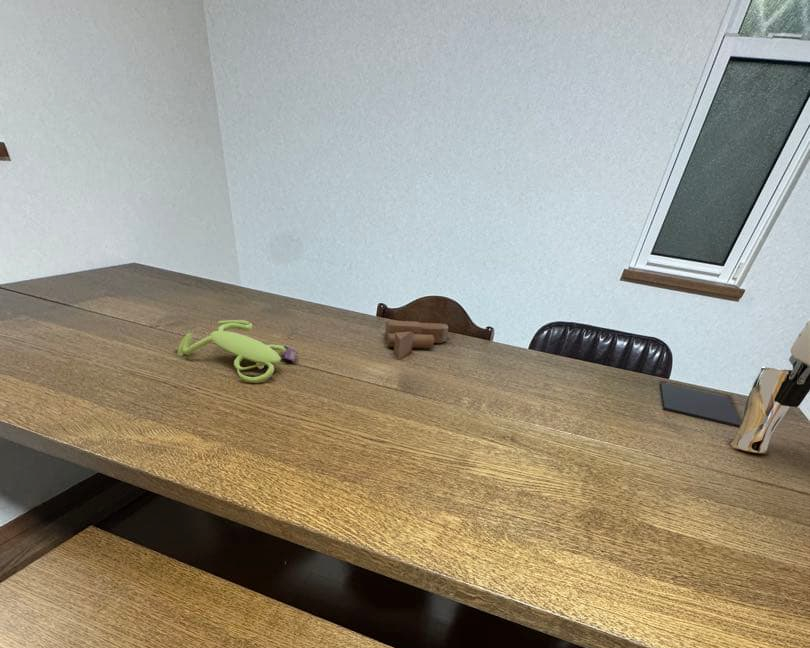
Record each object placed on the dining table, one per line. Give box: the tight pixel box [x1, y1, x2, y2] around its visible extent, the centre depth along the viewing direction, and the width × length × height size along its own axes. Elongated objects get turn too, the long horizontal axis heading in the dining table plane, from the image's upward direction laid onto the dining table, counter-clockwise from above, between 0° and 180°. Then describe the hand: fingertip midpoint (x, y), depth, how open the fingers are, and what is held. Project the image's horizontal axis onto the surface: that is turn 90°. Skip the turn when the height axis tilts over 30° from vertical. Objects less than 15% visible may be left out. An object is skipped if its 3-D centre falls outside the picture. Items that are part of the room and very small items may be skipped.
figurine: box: [177, 319, 298, 384], centre depth 100 cm, size 18×27×6 cm
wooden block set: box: [384, 319, 449, 361], centre depth 118 cm, size 17×6×18 cm
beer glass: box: [730, 366, 793, 455], centre depth 86 cm, size 7×7×15 cm
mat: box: [659, 382, 741, 428], centre depth 108 cm, size 16×18×1 cm
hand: (786, 404), depth 81 cm, fingers closed
